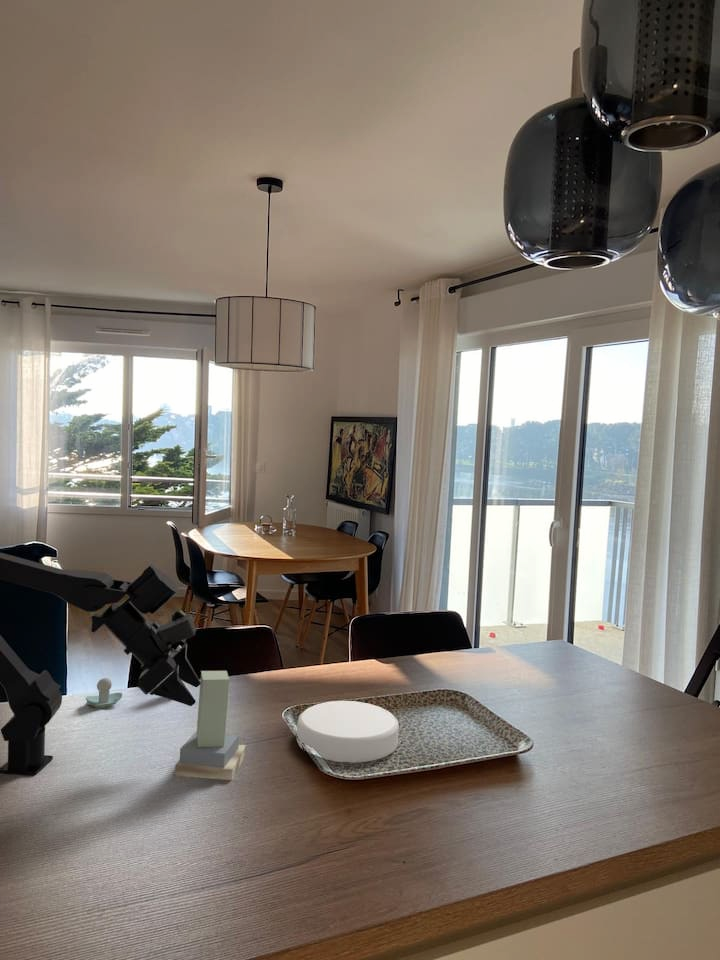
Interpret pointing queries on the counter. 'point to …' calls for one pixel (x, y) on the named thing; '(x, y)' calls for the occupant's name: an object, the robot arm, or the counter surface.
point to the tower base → (212, 768)
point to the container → (348, 731)
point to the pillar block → (212, 708)
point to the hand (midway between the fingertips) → (196, 694)
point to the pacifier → (103, 695)
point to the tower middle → (209, 752)
